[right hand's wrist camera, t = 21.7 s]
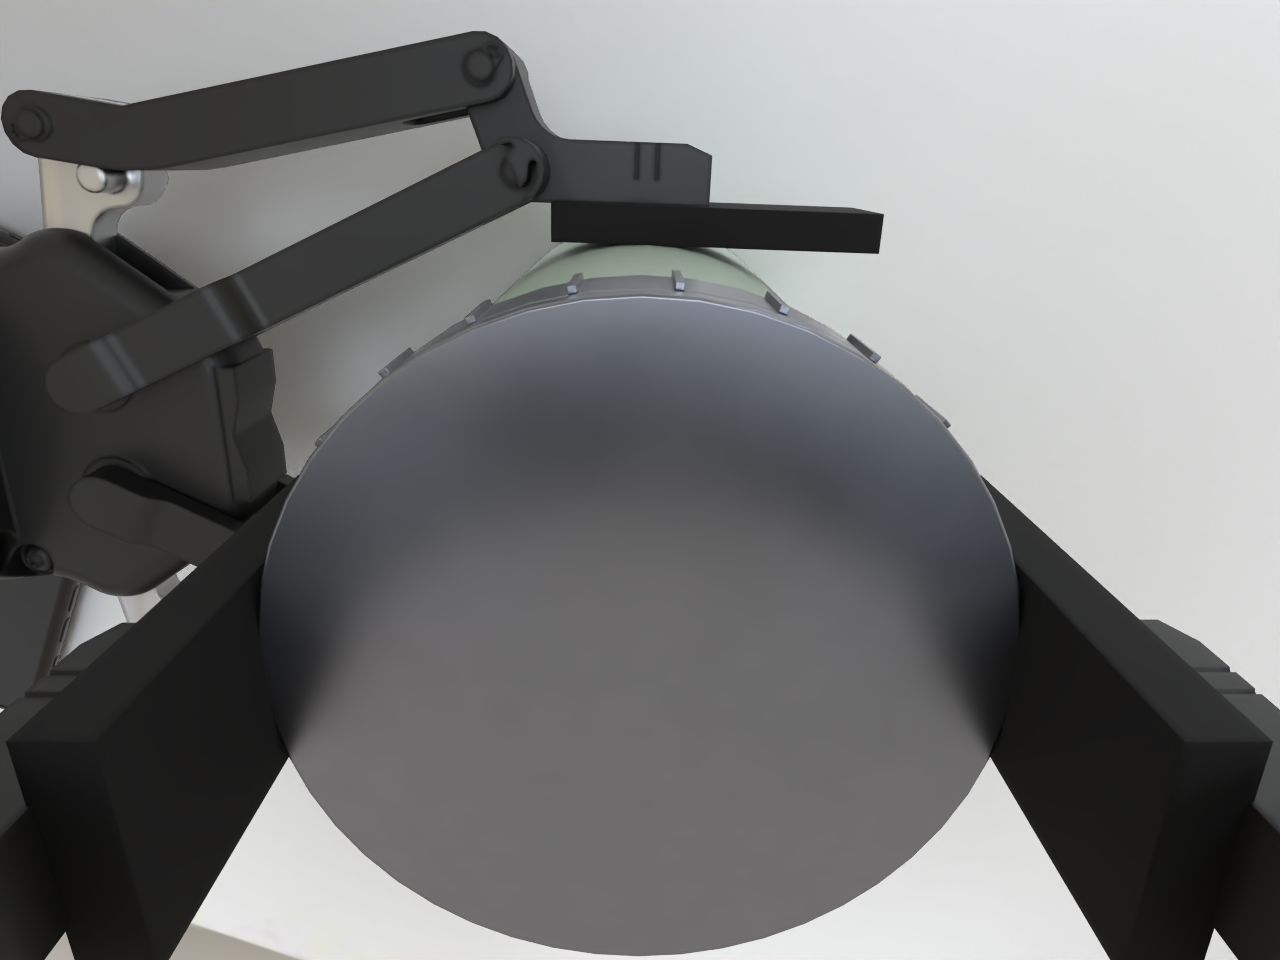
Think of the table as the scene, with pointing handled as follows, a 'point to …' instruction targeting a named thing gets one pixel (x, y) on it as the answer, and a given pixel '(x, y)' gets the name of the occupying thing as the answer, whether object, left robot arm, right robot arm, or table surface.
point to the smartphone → (31, 617)
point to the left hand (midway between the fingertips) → (837, 443)
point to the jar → (636, 266)
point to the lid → (639, 618)
